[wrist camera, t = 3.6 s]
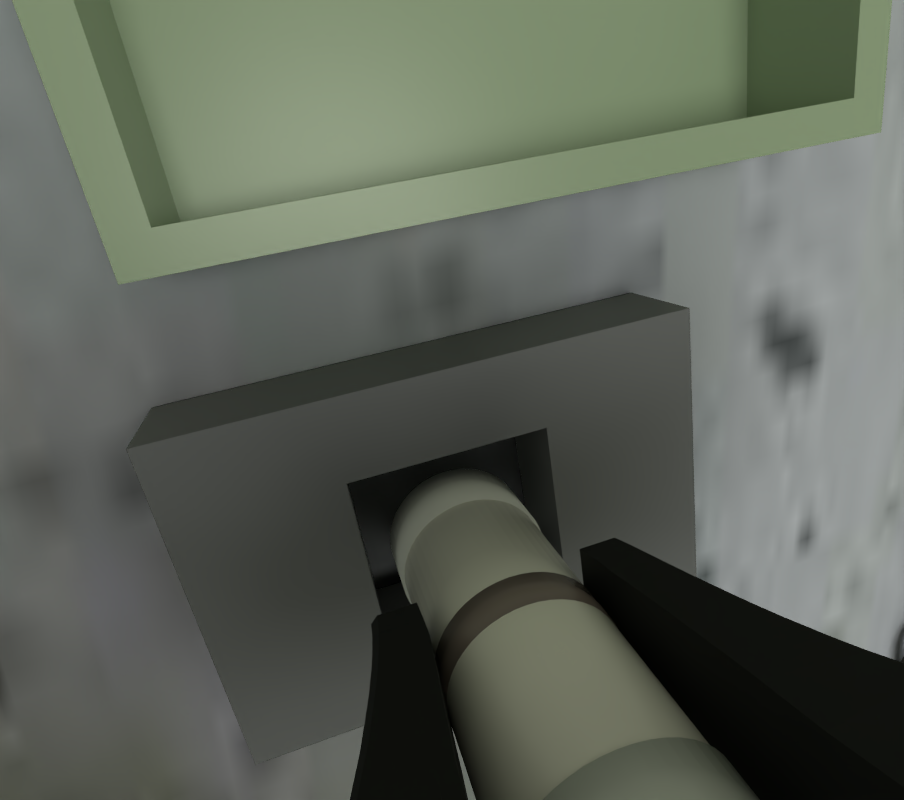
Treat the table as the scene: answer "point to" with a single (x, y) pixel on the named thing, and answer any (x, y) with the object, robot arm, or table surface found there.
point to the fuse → (539, 660)
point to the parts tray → (422, 107)
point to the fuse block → (394, 447)
